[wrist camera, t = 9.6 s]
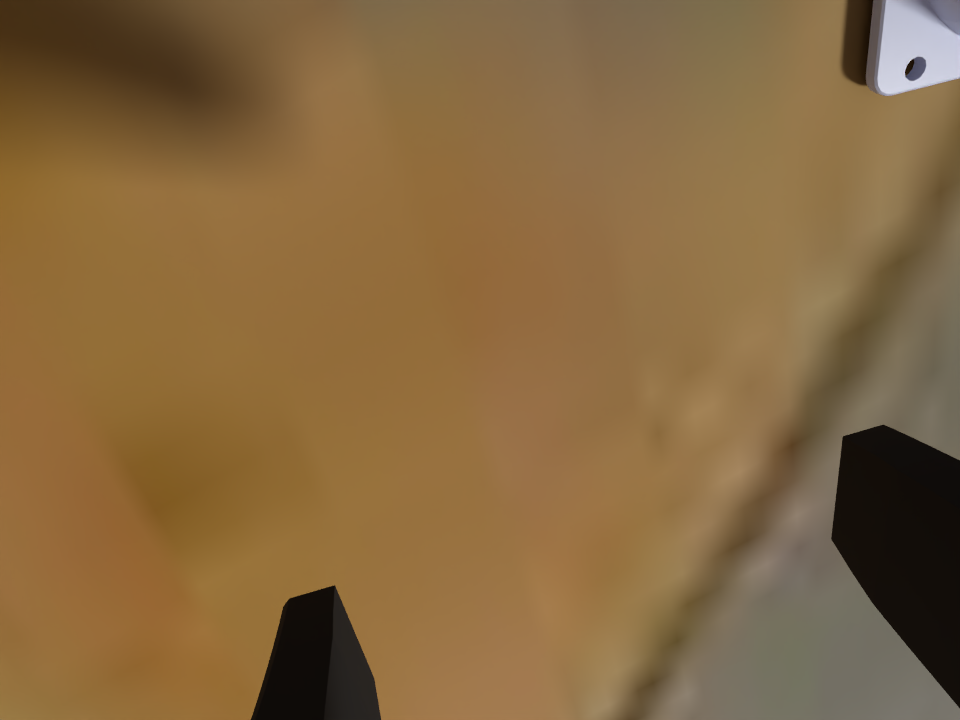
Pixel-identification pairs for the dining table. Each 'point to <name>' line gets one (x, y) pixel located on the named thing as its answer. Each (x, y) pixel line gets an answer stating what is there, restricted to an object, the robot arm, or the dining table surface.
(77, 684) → the dining table surface
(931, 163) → the dining table surface
